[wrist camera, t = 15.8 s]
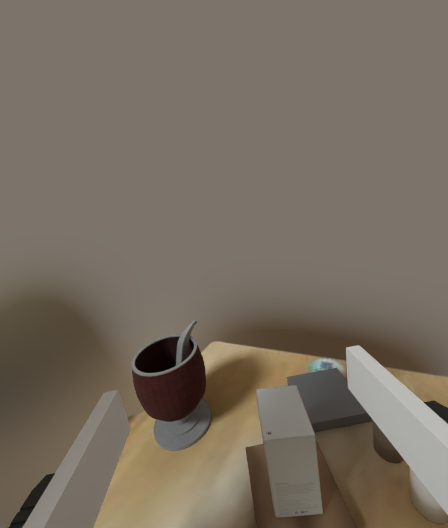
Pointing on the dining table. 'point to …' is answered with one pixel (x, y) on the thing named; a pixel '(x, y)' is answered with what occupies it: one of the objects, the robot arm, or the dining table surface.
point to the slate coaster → (328, 400)
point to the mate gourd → (173, 389)
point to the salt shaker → (425, 501)
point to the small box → (289, 452)
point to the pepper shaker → (385, 446)
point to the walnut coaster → (327, 524)
